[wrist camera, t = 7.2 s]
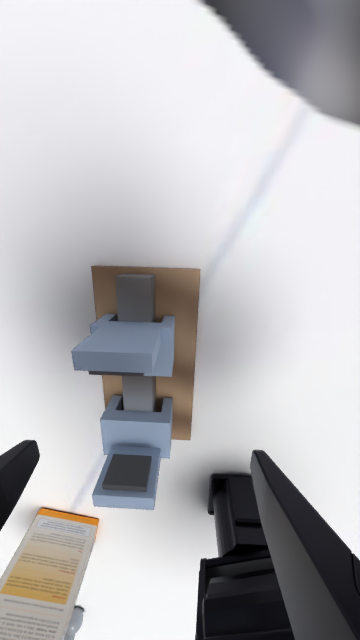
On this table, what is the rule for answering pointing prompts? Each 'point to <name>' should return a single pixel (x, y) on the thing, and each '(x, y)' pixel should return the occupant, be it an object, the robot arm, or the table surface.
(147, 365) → the notched blue block
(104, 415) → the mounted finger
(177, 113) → the table surface
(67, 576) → the supplement box
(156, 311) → the rail board
